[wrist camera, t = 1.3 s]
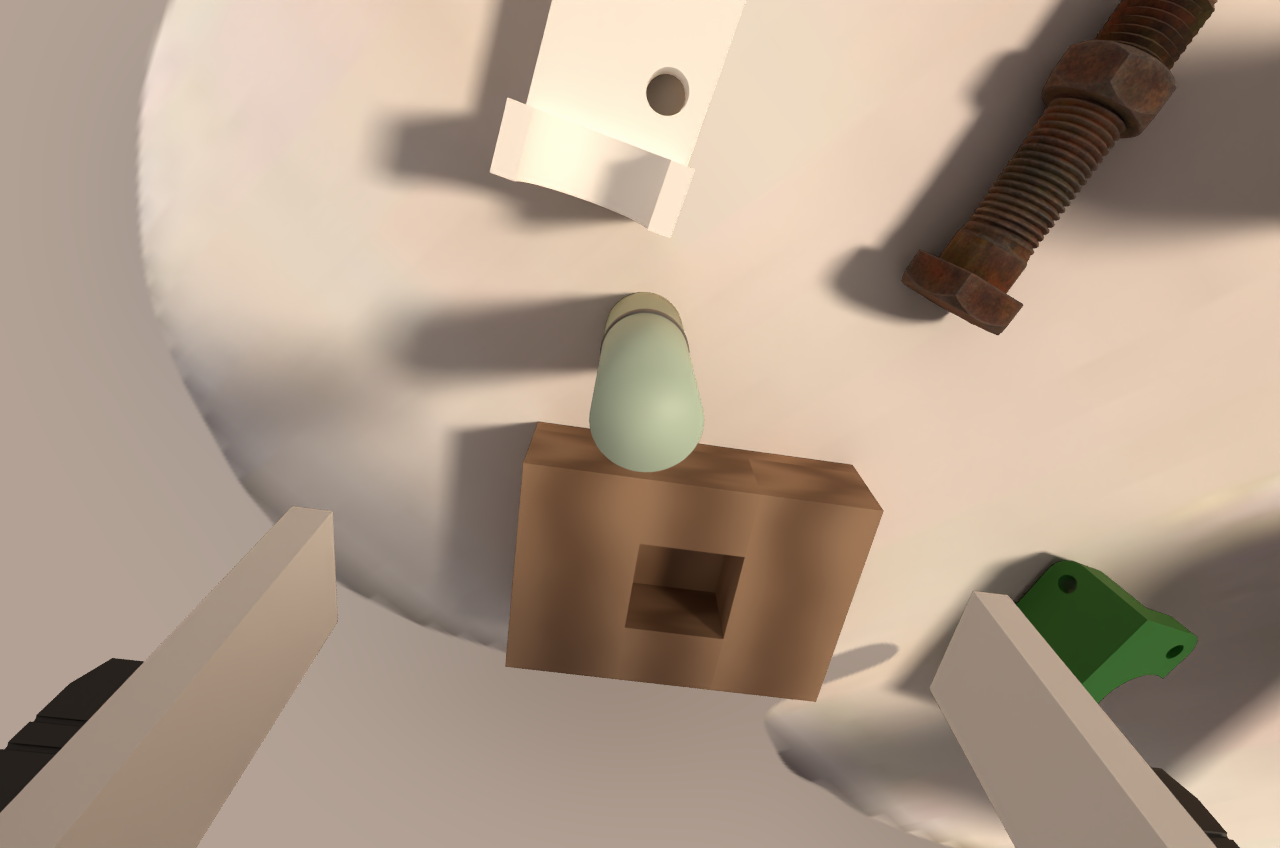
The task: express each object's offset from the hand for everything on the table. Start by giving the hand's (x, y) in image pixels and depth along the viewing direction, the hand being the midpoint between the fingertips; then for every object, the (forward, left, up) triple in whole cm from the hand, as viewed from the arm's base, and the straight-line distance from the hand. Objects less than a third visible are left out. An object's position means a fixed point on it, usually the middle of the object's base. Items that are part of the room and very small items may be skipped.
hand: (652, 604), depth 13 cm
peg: (0, 0, -22) cm, 22 cm away
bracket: (+2, -13, -22) cm, 26 cm away
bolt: (-17, -11, -22) cm, 30 cm away
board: (-4, +13, -22) cm, 25 cm away
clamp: (-29, +16, -22) cm, 40 cm away
